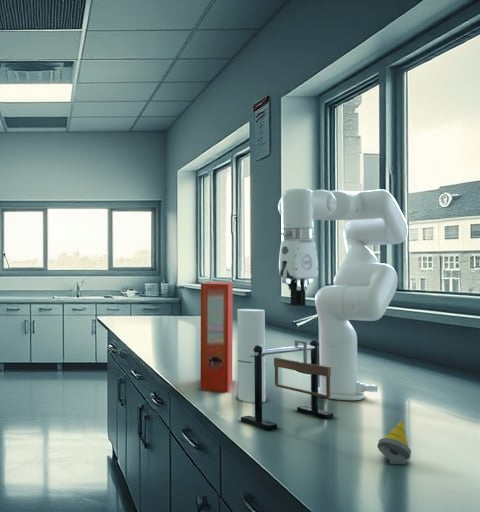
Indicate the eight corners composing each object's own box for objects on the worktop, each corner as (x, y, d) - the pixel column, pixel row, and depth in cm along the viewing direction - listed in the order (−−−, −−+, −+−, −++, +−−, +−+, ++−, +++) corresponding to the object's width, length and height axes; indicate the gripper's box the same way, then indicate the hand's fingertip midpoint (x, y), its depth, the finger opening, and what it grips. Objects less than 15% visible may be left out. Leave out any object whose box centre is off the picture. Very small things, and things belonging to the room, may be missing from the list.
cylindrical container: (267, 403, 149) (267, 311, 150) (240, 401, 151) (239, 310, 151) (262, 396, 156) (261, 309, 157) (236, 395, 158) (235, 308, 158)
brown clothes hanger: (277, 385, 142) (276, 337, 143) (331, 398, 129) (330, 344, 129) (274, 386, 142) (273, 337, 142) (327, 399, 129) (327, 344, 129)
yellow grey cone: (368, 460, 107) (382, 418, 112) (398, 475, 105) (410, 432, 110) (380, 451, 103) (393, 408, 107) (412, 467, 101) (423, 422, 105)
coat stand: (304, 410, 142) (303, 337, 142) (333, 417, 135) (332, 341, 135) (240, 421, 132) (240, 343, 132) (268, 430, 124) (267, 348, 125)
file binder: (233, 381, 177) (232, 282, 178) (228, 392, 161) (228, 284, 162) (207, 379, 180) (206, 282, 181) (200, 390, 165) (199, 283, 165)
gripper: (290, 234, 138) (291, 307, 138) (329, 235, 145) (329, 305, 144) (265, 236, 145) (266, 305, 144) (303, 237, 151) (304, 303, 151)
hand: (298, 305), depth 144 cm, fingers closed
